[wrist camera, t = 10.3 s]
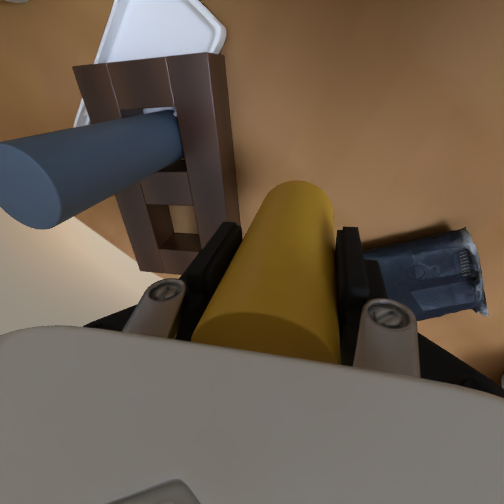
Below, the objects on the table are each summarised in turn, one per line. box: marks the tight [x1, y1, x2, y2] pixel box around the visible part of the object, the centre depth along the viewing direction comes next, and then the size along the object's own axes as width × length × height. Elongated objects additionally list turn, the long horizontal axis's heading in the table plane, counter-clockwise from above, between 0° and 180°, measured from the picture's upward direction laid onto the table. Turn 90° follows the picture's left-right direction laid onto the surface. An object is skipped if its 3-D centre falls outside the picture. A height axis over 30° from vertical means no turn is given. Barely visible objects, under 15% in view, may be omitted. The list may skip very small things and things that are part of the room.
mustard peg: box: [191, 181, 341, 365], centre depth 11 cm, size 4×4×10 cm
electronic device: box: [362, 227, 488, 321], centre depth 26 cm, size 9×6×15 cm
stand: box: [72, 52, 241, 275], centre depth 25 cm, size 11×18×4 cm, turn 5°
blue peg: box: [0, 110, 185, 229], centre depth 19 cm, size 4×4×15 cm
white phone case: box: [73, 0, 226, 128], centre depth 23 cm, size 7×1×15 cm
